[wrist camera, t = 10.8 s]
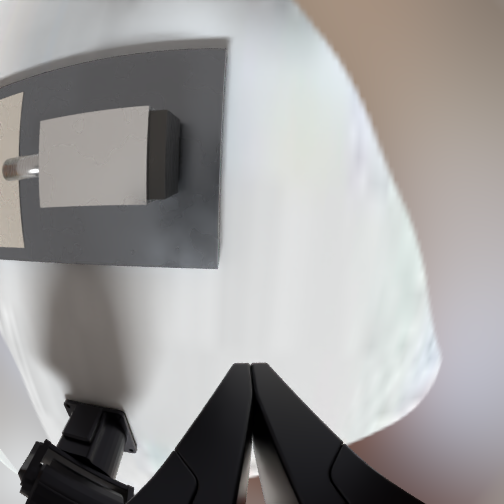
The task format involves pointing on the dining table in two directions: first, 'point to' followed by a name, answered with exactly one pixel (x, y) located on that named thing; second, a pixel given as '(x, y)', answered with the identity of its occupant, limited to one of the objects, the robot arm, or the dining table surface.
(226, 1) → the dining table surface
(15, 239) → the gauge board
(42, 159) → the threaded rod block
